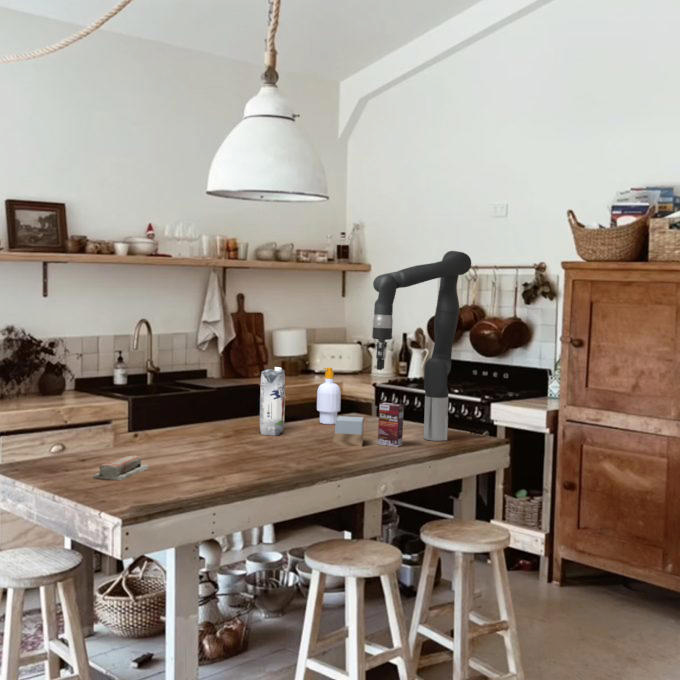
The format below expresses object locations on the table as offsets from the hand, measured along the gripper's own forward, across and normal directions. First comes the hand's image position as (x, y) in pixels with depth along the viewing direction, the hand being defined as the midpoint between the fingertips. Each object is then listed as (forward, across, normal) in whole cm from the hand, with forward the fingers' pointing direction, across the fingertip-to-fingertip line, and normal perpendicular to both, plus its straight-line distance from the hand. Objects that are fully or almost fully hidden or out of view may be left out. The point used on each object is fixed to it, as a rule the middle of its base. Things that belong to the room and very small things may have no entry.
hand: (380, 369), depth 336 cm
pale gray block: (+25, -1, +11) cm, 27 cm away
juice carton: (+29, +12, +43) cm, 54 cm away
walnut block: (+30, 0, +11) cm, 32 cm away
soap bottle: (+28, +42, +25) cm, 56 cm away
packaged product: (+34, -68, +75) cm, 107 cm away
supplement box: (+29, 0, -5) cm, 30 cm away
